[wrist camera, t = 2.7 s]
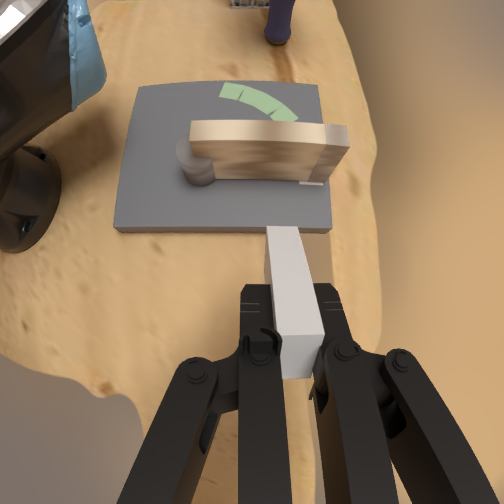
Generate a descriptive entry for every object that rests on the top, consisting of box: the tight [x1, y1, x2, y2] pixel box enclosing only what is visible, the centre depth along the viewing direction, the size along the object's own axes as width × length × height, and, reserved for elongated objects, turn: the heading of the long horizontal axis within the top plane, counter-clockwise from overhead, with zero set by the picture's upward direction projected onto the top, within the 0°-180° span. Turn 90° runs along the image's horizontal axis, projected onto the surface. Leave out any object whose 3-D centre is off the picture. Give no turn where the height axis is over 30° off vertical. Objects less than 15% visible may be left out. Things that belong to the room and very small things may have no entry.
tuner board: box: [113, 81, 332, 234], centre depth 32 cm, size 23×19×2 cm
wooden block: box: [176, 120, 350, 186], centre depth 26 cm, size 15×4×8 cm, turn 90°
